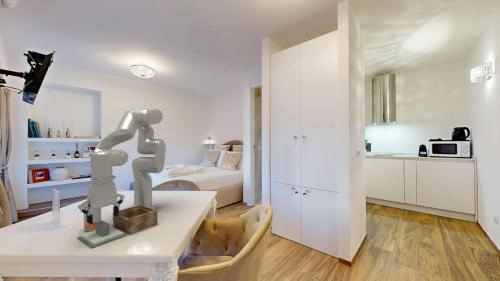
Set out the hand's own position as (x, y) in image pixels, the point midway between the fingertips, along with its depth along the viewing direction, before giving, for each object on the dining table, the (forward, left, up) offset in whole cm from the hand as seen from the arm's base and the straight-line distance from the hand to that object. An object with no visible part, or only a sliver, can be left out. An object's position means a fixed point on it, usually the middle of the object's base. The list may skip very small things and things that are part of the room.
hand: (103, 219), depth 90 cm
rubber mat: (0, -1, -7) cm, 7 cm away
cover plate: (+1, -1, -7) cm, 7 cm away
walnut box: (0, +13, -7) cm, 15 cm away
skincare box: (-13, 0, -8) cm, 15 cm away
